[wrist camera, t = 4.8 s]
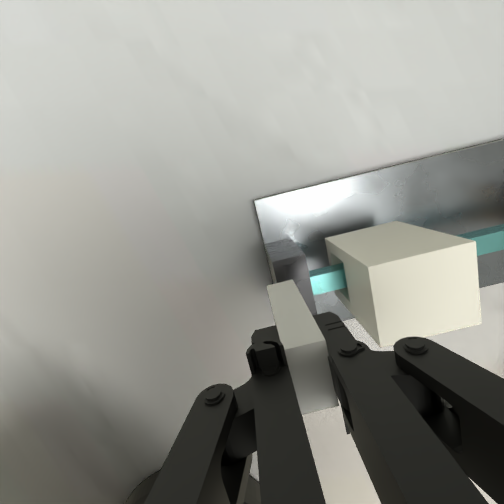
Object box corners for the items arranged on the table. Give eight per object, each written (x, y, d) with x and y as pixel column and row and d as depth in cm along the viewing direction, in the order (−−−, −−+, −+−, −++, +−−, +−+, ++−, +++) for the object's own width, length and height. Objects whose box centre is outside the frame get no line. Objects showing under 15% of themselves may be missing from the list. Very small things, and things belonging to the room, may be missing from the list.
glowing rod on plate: (283, 327, 26) (300, 383, 19) (253, 199, 24) (260, 208, 16) (573, 258, 26) (703, 288, 19) (574, 121, 23) (725, 94, 16)
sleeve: (335, 294, 22) (380, 347, 15) (324, 238, 21) (368, 266, 14) (403, 277, 22) (481, 323, 15) (396, 220, 21) (475, 240, 14)
